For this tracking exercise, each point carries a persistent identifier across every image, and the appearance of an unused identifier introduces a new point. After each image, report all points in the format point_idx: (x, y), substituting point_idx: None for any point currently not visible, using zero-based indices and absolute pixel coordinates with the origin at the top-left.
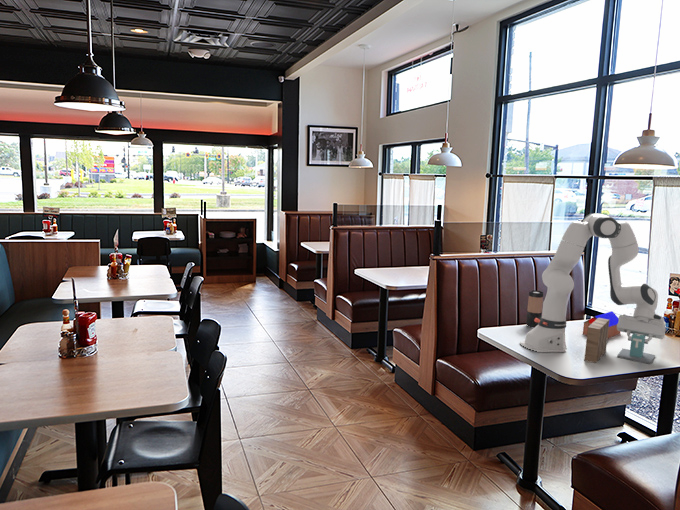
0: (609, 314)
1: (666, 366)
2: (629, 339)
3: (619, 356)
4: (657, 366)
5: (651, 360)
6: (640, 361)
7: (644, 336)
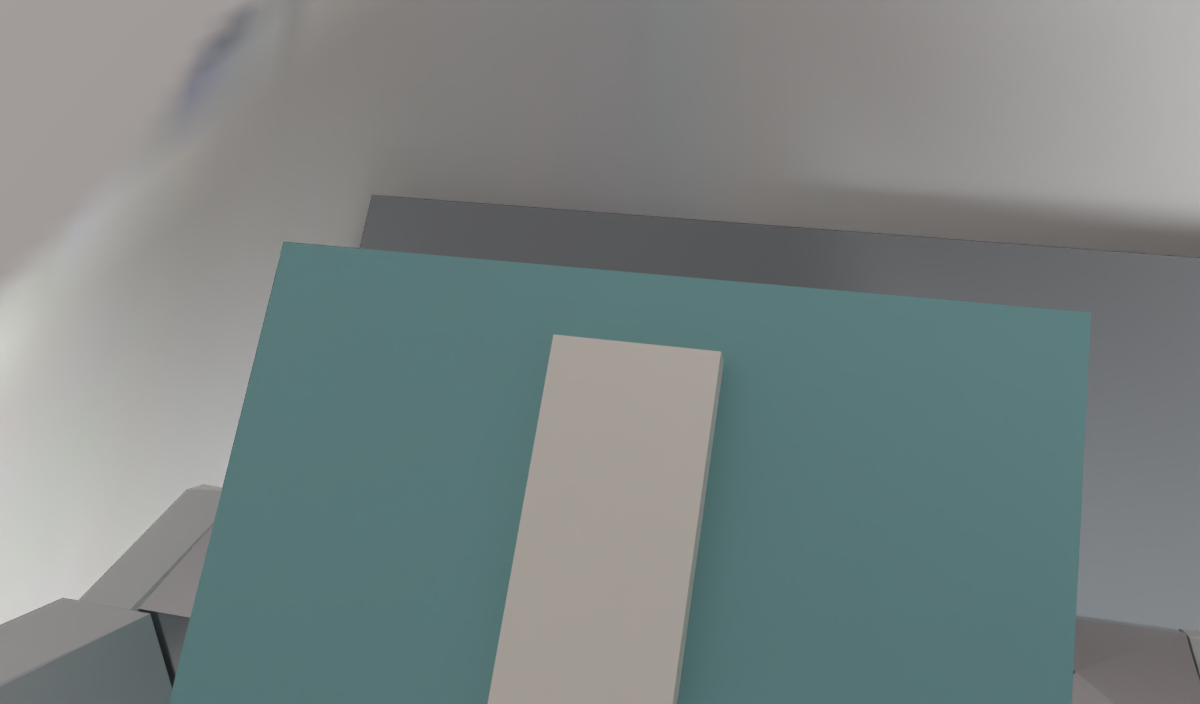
0: None
1: (74, 282)
2: (1138, 632)
3: (1198, 268)
4: (266, 149)
5: None
6: (618, 224)
7: (219, 521)
